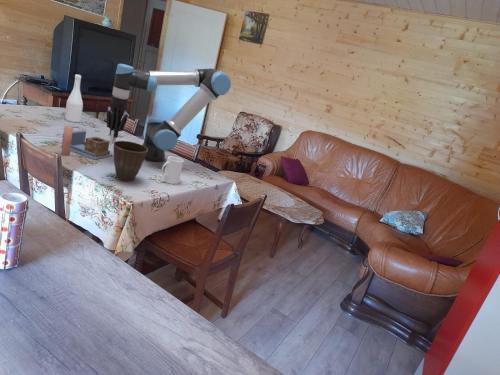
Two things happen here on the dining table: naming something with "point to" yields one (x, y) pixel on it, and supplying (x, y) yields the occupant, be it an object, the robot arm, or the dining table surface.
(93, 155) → the rail board
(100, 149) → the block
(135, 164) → the plant pot
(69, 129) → the dowel
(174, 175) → the mug
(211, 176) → the dining table surface
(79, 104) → the wine bottle
